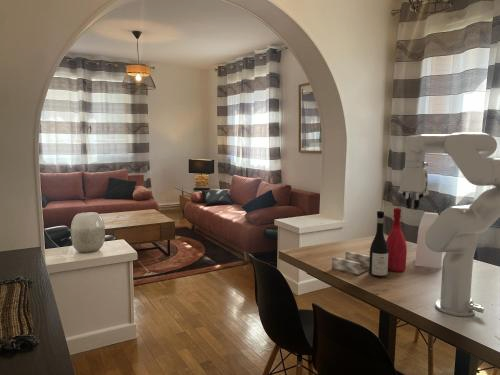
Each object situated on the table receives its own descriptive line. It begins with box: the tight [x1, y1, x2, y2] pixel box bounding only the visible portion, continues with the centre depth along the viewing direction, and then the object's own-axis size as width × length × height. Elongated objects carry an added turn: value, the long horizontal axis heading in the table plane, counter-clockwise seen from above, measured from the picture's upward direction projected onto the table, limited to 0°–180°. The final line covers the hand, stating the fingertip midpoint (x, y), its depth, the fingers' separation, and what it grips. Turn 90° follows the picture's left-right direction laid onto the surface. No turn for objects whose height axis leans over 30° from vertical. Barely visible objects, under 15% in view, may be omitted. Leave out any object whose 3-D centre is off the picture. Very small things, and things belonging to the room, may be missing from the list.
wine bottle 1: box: [368, 210, 389, 279], centre depth 171 cm, size 8×8×30 cm
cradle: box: [331, 250, 370, 277], centre depth 181 cm, size 14×14×6 cm
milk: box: [414, 212, 443, 270], centre depth 188 cm, size 12×12×26 cm
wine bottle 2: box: [385, 207, 408, 273], centre depth 180 cm, size 10×10×30 cm
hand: (412, 208), depth 159 cm, fingers closed
